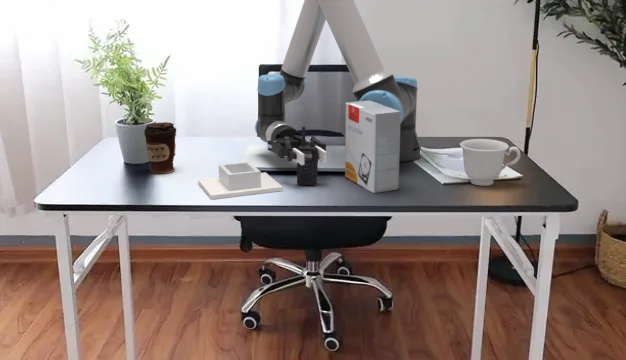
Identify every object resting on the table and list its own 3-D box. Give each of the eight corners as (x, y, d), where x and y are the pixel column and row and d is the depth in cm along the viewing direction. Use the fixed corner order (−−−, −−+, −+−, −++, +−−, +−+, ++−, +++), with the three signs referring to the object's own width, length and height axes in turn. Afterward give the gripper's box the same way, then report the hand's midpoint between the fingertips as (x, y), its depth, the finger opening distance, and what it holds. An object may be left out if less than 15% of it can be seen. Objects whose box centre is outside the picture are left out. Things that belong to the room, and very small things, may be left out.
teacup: (517, 192, 179) (520, 152, 176) (455, 187, 183) (457, 148, 181) (518, 178, 190) (521, 141, 187) (460, 174, 194) (462, 137, 192)
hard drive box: (343, 177, 192) (344, 102, 187) (369, 173, 196) (370, 99, 190) (372, 193, 179) (374, 113, 173) (400, 189, 182) (402, 110, 176)
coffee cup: (171, 176, 194) (167, 128, 190) (141, 175, 196) (137, 127, 192) (183, 167, 202) (180, 121, 199) (154, 166, 204) (151, 120, 200)
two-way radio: (295, 185, 185) (296, 127, 181) (297, 180, 189) (298, 123, 185) (316, 186, 185) (318, 128, 180) (318, 181, 189) (320, 124, 185)
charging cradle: (265, 175, 194) (265, 157, 193) (282, 190, 182) (282, 171, 180) (198, 183, 188) (197, 164, 186) (211, 199, 175) (210, 179, 174)
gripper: (314, 148, 205) (348, 169, 184) (251, 154, 199) (279, 177, 178) (314, 121, 203) (348, 140, 182) (250, 127, 197) (278, 147, 176)
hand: (314, 158), depth 180 cm, fingers closed on two-way radio, 5 cm apart
